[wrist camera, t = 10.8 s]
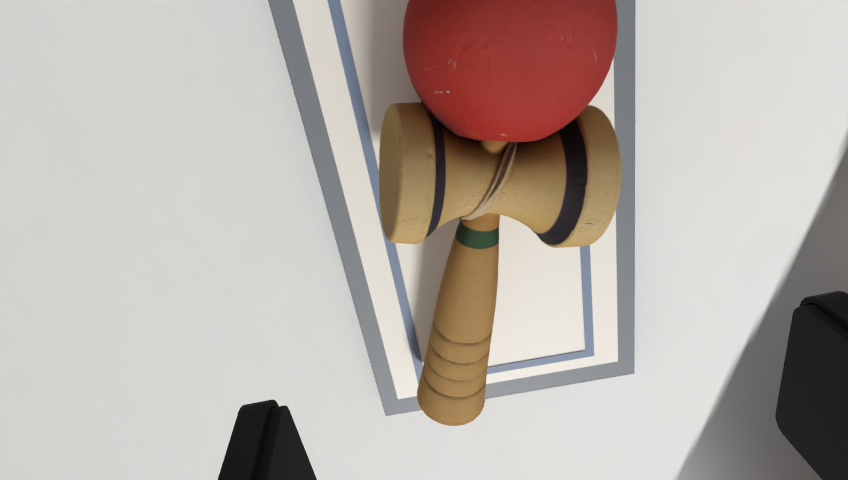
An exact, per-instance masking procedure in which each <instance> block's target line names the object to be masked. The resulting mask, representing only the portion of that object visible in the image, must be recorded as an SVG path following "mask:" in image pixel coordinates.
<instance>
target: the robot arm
mask: <svg viewBox="0 0 848 480" xmlns="http://www.w3.org/2000/svg"><path fill="white" fill-rule="evenodd" d="M776 421H777V424H778V427H779V429H780V431H781V432H782V434H783V435H784V436H785V437H786V438H787V440H788V441H789V442H790V443H791V444H792V445H793V446H794V448H795V449H796V450H797V451H798V452H799V453H800V454H801V456H802V457H803V458H804V459H805V460H806V461H807V463H808V464H809V465H810V466H811V467H812V468H813V469H814V471H815V472H816V473H817V474H818V475H819V476H820V478H822V480H848V294H847V293H845V292H841V291H836V292H831V293H826V294H821V295H816V296H811V297H807V298H804V299H803V300H802V301H801V304H800V306H799V307H798V308H796V309H795V310H794V312H793V316H792V322H791V328H790V333H789V339H788V345H787V351H786V356H785V362H784V369H783V374H782V379H781V385H780V391H779V397H778V403H777V408H776ZM218 480H317V479H316V476H315V474H314V471H313V469H312V466H311V464H310V461H309V459H308V456H307V454H306V451H305V449H304V446H303V444H302V441H301V439H300V436H299V433H298V431H297V428H296V426H295V423H294V421H293V418H292V416H291V413H290V411H289V409H288V407H287V406H280V407H279V406H278V404H277V402H276V401H275V400H268V401H263V402H257V403H252V404H247V405H243V406H242V407H241V408H240V410H239V412H238V416H237V419H236V422H235V425H234V429H233V432H232V435H231V438H230V442H229V445H228V448H227V451H226V455H225V458H224V461H223V464H222V468H221V471H220V474H219V477H218Z"/></svg>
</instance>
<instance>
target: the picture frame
mask: <svg viewBox="0 0 848 480" xmlns="http://www.w3.org/2000/svg"><path fill="white" fill-rule="evenodd" d="M408 1H409V0H268V2H269V5H270V9H271V12H272V16H273V19H274V23H275V26H276V30H277V33H278V37H279V40H280V44H281V48H282V51H283V55H284V58H285V62H286V65H287V69H288V72H289V76H290V79H291V83H292V86H293V90H294V94H295V97H296V101H297V104H298V108H299V111H300V115H301V118H302V122H303V125H304V129H305V132H306V136H307V140H308V143H309V147H310V150H311V154H312V157H313V161H314V164H315V168H316V171H317V175H318V178H319V182H320V186H321V189H322V193H323V196H324V200H325V203H326V207H327V210H328V214H329V217H330V221H331V224H332V228H333V232H334V235H335V239H336V242H337V246H338V249H339V253H340V256H341V260H342V263H343V267H344V270H345V274H346V277H347V281H348V285H349V288H350V292H351V295H352V299H353V302H354V306H355V309H356V313H357V316H358V320H359V323H360V327H361V331H362V334H363V338H364V341H365V345H366V348H367V352H368V355H369V359H370V362H371V366H372V369H373V373H374V377H375V380H376V384H377V387H378V391H379V394H380V398H381V401H382V405H383V408H384V412H385V415H386V416H389V415H395V414H401V413H406V412H412V411H418V410H422V409H421V408H420V405H419V403H418V399H417V389H418V384H419V381H420V377H421V373H422V369H423V365H424V360H425V355H426V352H427V346H428V341H429V337H430V331H431V327H432V322H433V318H434V311H435V306H436V301H437V297H438V292H439V288H440V284H441V280H442V277H443V273H444V269H445V265H446V262H447V259H448V256H449V252H450V249H451V246H452V243H453V240H454V236H455V233H456V230H457V226H458V224H459V222H460V219H459V217H458V218H455V219H452V220H450V221H448V222H446V223H445V224H443V225H441V226H440V227H438V228H437V229H436V230H434V231H433V233H431V234H430V235H429V236H428V237H426V238H425V239H424V240H423V241H422V242H421V243H419V244H404V243H391V242H389V241H388V240H387V238H386V236H385V234H384V230H383V227H382V221H381V214H380V202H379V200H380V198H379V161H380V160H379V148H380V138H381V129H382V123H383V119H384V115H385V113H386V111H387V109H388V108H389V106H390V105H391V104H394V103H413V102H419V103H421V99H420V98H419V96H418V95H417V93H416V91H415V89H414V87H413V85H412V83H411V80H410V77H409V74H408V72H407V67H406V63H405V58H404V52H403V26H404V17H405V12H406V8H407V4H408ZM615 2H616V7H617V18H618V31H617V42H616V49H615V53H614V57H613V60H612V63H611V67H610V70H609V72H608V74H607V76H606V78H605V80H604V82H603V84H602V86H601V88H600V89H599V91H598V93H597V94H596V95H595V97H594V98H593V99H592V101H591V102H590V103H589V104H588V105H592V106H595V107H597V108H599V109H601V110H602V111H603V112H604V113H605V115H606V116H607V117H608V119H609V120H610V122H611V124H612V126H613V128H614V131H615V133H616V136H617V139H618V143H619V147H620V155H621V168H622V177H621V187H620V194H619V199H618V204H617V208H616V211H615V213H614V216H613V218H612V220H611V222H610V224H609V226H608V228H607V229H606V231H605V232H604V234H603V235H602V236H601V237H600V238H599V239H598V240H597V241H596V242H594V243H593V244H590V245H587V246H581V247H564V248H553V247H550V246H548V245H546V244H545V243H543V242H542V241H541V240H540V239H539V237H538V236H537V235H536V234H535V233H534V232H533V231H532V230H531V229H530V228H529V227H527V226H526V225H524V224H522V223H521V222H519V221H517V220H515V219H512V218H510V217H507V216H504V215H500V221H499V222H500V223H499V262H498V285H497V297H496V307H495V315H494V323H493V328H492V337H491V344H490V352H489V359H488V369H487V377H486V391H485V399H488V398H494V397H500V396H505V395H511V394H517V393H523V392H529V391H535V390H540V389H546V388H552V387H558V386H564V385H570V384H575V383H581V382H587V381H593V380H599V379H605V378H610V377H616V376H622V375H628V374H634V296H635V0H615Z"/></svg>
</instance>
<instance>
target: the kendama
mask: <svg viewBox="0 0 848 480" xmlns="http://www.w3.org/2000/svg"><path fill="white" fill-rule="evenodd" d="M617 31H618V18H617V7H616V2H615V0H409V1H408V4H407V8H406V12H405V17H404V26H403V52H404V58H405V63H406V67H407V72H408V74H409V77H410V80H411V83H412V85H413V87H414V89H415V91H416V93H417V95H418V96H419V98H420V99H421V103H419V102H413V103H394V104H391V105H390V106H389V108H388V109H387V111H386V113H385V115H384V119H383V123H382V129H381V138H380V148H379V160H380V161H379V198H380V200H379V202H380V214H381V221H382V227H383V230H384V234H385V236H386V238H387V240H388V241H389V242H391V243H404V244H419V243H421V242H422V241H423V240H424V239H425V238H426V237H428V236H429V235H430V234H431V233H433V231H434V230H436V229H437V228H438V227H440V226H441V225H443V224H445V223H446V222H448V221H450V220H452V219H455V218H458V217H459V219H460V222H459V224H458V226H457V230H456V233H455V236H454V240H453V243H452V246H451V249H450V252H449V256H448V259H447V262H446V265H445V269H444V273H443V277H442V280H441V284H440V288H439V292H438V297H437V301H436V306H435V311H434V318H433V322H432V327H431V331H430V337H429V341H428V346H427V352H426V355H425V360H424V365H423V369H422V373H421V377H420V381H419V384H418V389H417V399H418V403H419V405H420V408H421V409H422V410H423V411H424V413H425V414H426V415H427V416H428V417H430V418H431V419H432V420H434V421H436V422H438V423H441V424H444V425H449V426H458V425H464V424H467V423H469V422H471V421H473V420H474V419H475V418H476V417H477V416H478V415H479V414H480V413H481V411H482V409H483V407H484V402H485V391H486V377H487V369H488V359H489V352H490V344H491V337H492V328H493V323H494V315H495V307H496V297H497V285H498V262H499V223H500V222H499V221H500V215H504V216H507V217H510V218H512V219H515V220H517V221H519V222H521V223H522V224H524V225H526V226H527V227H529V228H530V229H531V230H532V231H533V232H534V233H535V234H536V235H537V236H538V237H539V239H540V240H541V241H542V242H543V243H545V244H546V245H548V246H550V247H553V248H564V247H581V246H587V245H590V244H593V243H594V242H596V241H597V240H598V239H599V238H600V237H601V236H602V235H603V234H604V232H605V231H606V229H607V228H608V226H609V224H610V222H611V220H612V218H613V216H614V213H615V211H616V208H617V204H618V199H619V194H620V187H621V177H622V168H621V155H620V147H619V143H618V139H617V136H616V133H615V131H614V128H613V126H612V124H611V122H610V120H609V119H608V117H607V116H606V115H605V113H604V112H603V111H602V110H601V109H599V108H597V107H595V106H592V105H588V104H589V103H590V102H591V101H592V99H593V98H594V97H595V95H596V94H597V93H598V91H599V89H600V88H601V86H602V84H603V82H604V80H605V78H606V76H607V74H608V72H609V70H610V67H611V63H612V60H613V57H614V53H615V49H616V42H617Z"/></svg>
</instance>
